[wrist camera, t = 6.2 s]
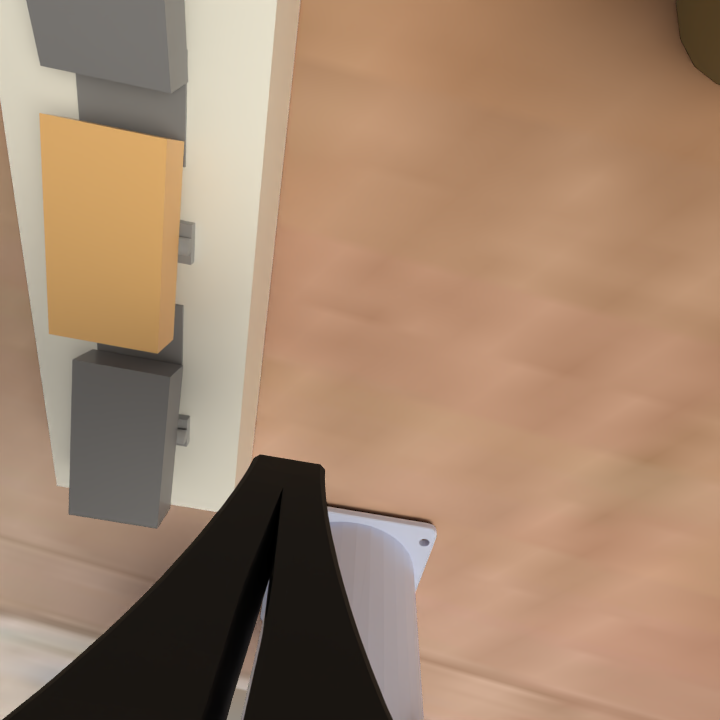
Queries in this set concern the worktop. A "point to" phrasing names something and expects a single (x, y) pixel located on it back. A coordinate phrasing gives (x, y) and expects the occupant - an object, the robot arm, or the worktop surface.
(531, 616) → the worktop surface
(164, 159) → the rocker middle
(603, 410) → the worktop surface
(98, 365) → the block
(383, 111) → the worktop surface
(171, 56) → the block
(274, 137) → the rocker switch panel
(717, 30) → the olive-brown rounded piece
